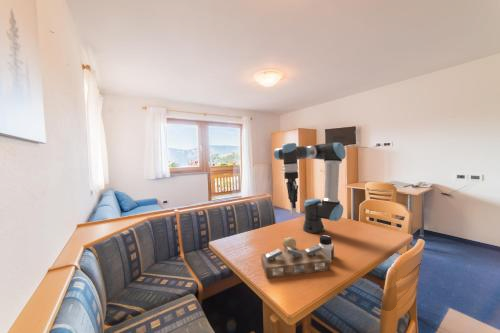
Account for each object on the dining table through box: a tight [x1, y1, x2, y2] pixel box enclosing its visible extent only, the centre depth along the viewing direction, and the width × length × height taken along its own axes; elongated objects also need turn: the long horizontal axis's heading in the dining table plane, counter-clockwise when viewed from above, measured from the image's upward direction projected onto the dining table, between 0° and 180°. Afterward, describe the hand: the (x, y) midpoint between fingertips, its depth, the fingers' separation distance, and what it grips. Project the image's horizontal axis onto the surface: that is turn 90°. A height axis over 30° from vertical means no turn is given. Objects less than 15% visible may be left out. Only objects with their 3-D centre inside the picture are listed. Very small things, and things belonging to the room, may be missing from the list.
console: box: [260, 248, 331, 279], centre depth 101 cm, size 32×13×6 cm, turn 97°
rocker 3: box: [305, 243, 322, 255], centre depth 102 cm, size 8×3×2 cm, turn 97°
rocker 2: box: [284, 247, 303, 257], centre depth 100 cm, size 8×3×2 cm, turn 98°
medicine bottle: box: [318, 234, 335, 263], centre depth 108 cm, size 7×7×12 cm
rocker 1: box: [265, 248, 283, 261], centre depth 99 cm, size 8×3×2 cm, turn 97°
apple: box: [282, 236, 297, 250], centre depth 120 cm, size 8×8×8 cm
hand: (293, 213), depth 110 cm, fingers closed
